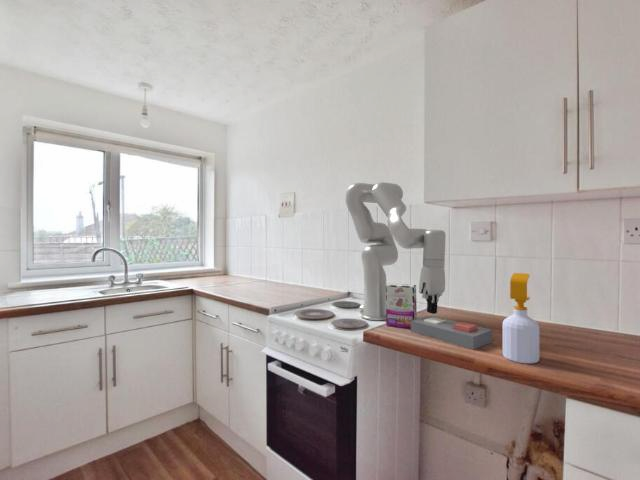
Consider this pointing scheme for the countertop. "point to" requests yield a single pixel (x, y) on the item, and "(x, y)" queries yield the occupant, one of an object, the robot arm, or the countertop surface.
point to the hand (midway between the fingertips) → (431, 312)
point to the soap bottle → (520, 326)
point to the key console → (452, 333)
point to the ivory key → (434, 321)
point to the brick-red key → (465, 327)
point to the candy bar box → (400, 305)
